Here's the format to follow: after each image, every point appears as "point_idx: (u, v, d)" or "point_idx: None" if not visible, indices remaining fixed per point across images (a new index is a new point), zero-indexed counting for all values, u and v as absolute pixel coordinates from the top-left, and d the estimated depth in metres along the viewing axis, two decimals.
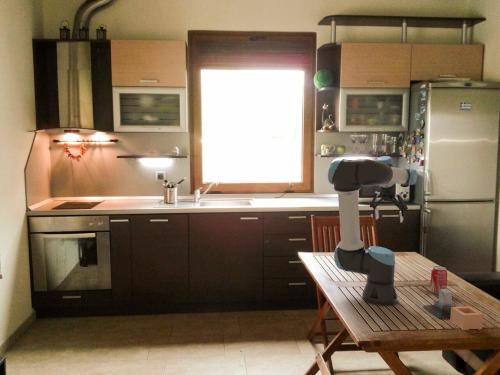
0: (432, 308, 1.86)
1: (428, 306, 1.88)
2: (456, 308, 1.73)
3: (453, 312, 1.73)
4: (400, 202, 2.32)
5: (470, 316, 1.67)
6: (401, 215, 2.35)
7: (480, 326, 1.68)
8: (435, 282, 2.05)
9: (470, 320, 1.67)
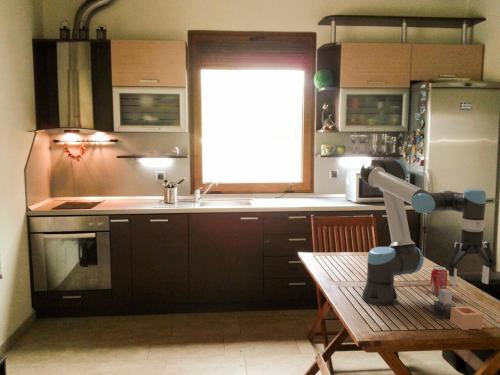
0: (432, 308, 1.86)
1: (428, 306, 1.88)
2: (456, 308, 1.73)
3: (453, 312, 1.73)
4: None
5: (470, 316, 1.67)
6: None
7: (480, 326, 1.68)
8: (435, 282, 2.05)
9: (470, 320, 1.67)
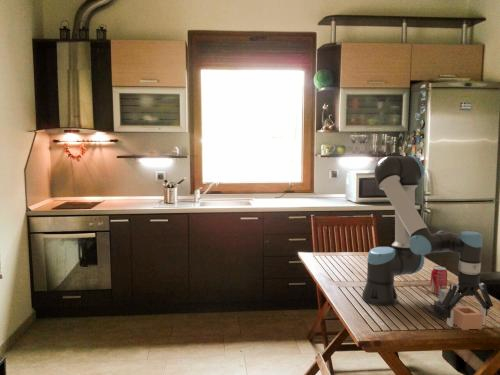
0: (432, 308, 1.86)
1: (428, 306, 1.88)
2: (456, 308, 1.73)
3: (453, 312, 1.73)
4: None
5: (470, 316, 1.67)
6: None
7: (480, 326, 1.68)
8: (435, 282, 2.05)
9: (470, 320, 1.67)
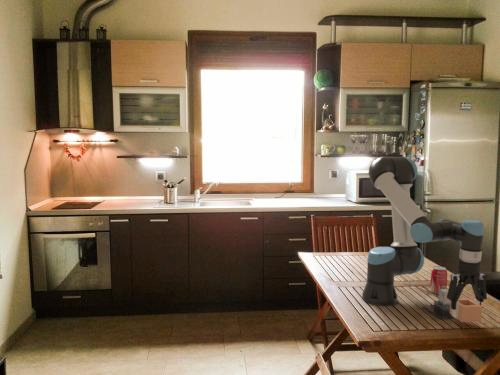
0: (432, 308, 1.86)
1: (428, 306, 1.88)
2: None
3: None
4: None
5: (469, 308, 1.67)
6: None
7: (479, 318, 1.68)
8: (435, 282, 2.05)
9: (469, 312, 1.67)
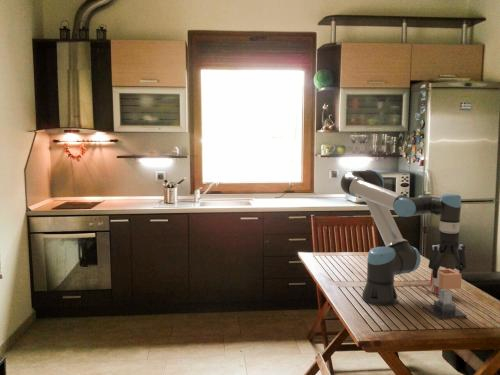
0: (432, 308, 1.86)
1: (428, 306, 1.88)
2: None
3: None
4: None
5: (449, 276, 1.78)
6: None
7: (459, 285, 1.79)
8: None
9: (449, 280, 1.78)
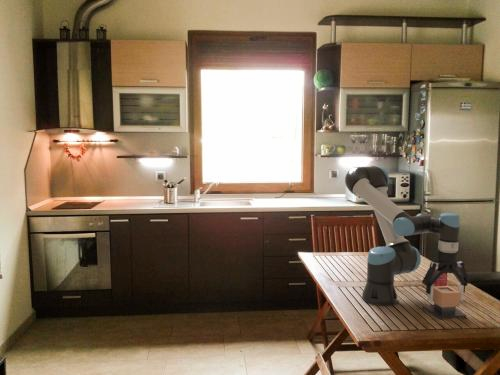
0: (432, 308, 1.86)
1: (428, 306, 1.88)
2: (436, 287, 1.85)
3: (433, 291, 1.85)
4: None
5: (448, 294, 1.79)
6: None
7: (458, 303, 1.80)
8: (435, 282, 2.05)
9: (448, 298, 1.79)
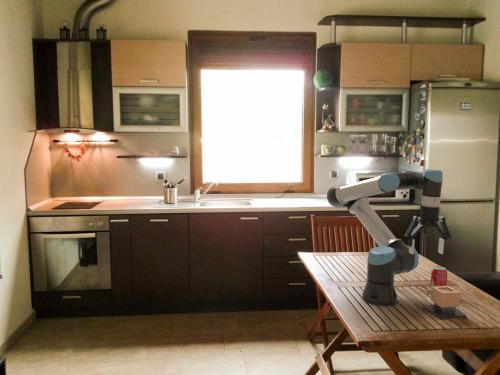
0: (432, 308, 1.86)
1: (428, 306, 1.88)
2: (436, 287, 1.85)
3: (433, 291, 1.85)
4: None
5: (448, 294, 1.79)
6: None
7: (458, 303, 1.80)
8: (435, 282, 2.05)
9: (448, 298, 1.79)
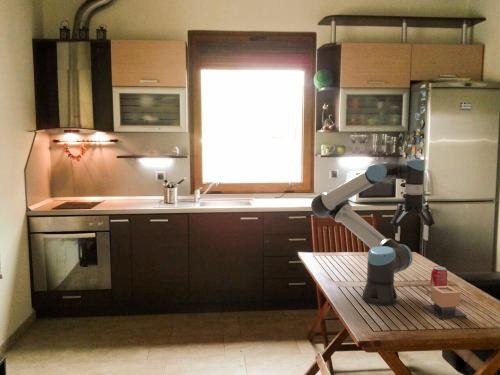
0: (432, 308, 1.86)
1: (428, 306, 1.88)
2: (436, 287, 1.85)
3: (433, 291, 1.85)
4: None
5: (448, 294, 1.79)
6: None
7: (458, 303, 1.80)
8: (435, 282, 2.05)
9: (448, 298, 1.79)
